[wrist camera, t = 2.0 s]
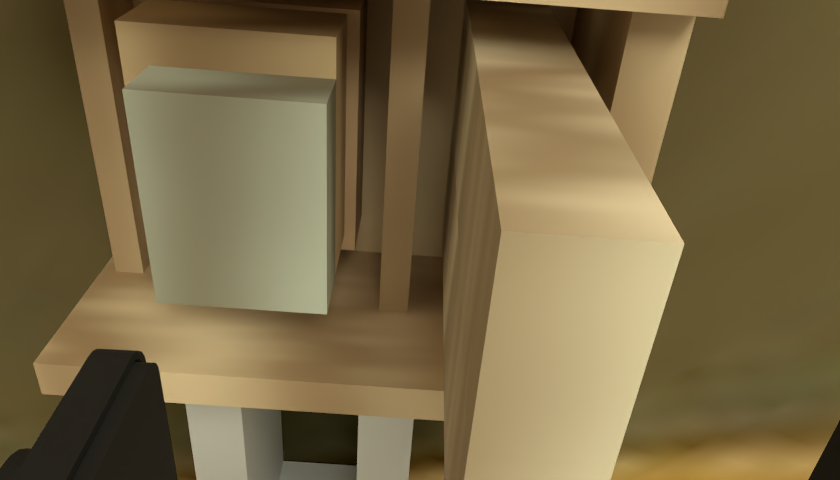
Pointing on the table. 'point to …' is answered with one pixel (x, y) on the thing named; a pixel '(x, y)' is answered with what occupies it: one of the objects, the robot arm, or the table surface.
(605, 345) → the wooden board
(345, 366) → the rack
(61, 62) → the table surface
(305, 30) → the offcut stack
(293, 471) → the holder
